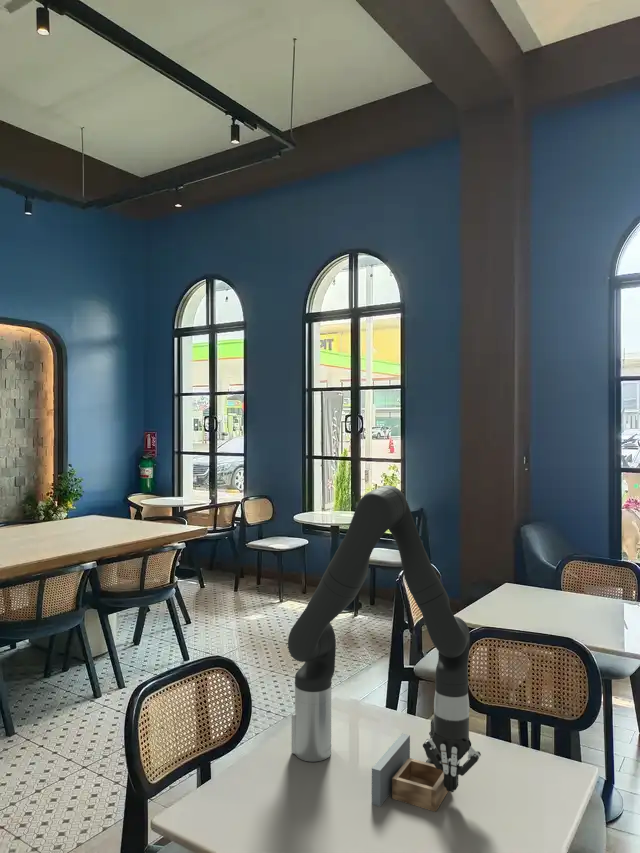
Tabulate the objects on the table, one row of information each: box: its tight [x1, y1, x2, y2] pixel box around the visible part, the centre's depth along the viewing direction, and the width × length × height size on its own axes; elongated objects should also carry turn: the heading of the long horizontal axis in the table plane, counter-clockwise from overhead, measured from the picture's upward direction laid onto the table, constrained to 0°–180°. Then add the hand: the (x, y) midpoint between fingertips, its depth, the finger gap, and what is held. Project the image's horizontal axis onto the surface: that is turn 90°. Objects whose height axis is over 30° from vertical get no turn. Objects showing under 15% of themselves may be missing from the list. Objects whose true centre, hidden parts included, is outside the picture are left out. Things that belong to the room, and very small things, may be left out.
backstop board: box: [371, 732, 411, 807], centre depth 148 cm, size 2×18×8 cm, turn 151°
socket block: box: [391, 757, 449, 812], centre depth 144 cm, size 10×10×4 cm
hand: (451, 789), depth 141 cm, fingers closed
